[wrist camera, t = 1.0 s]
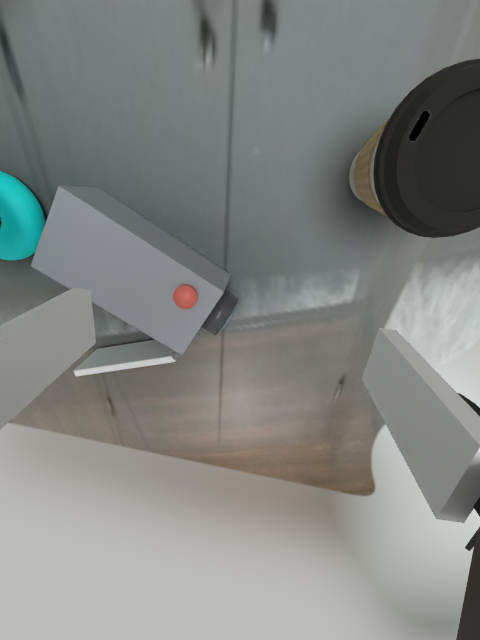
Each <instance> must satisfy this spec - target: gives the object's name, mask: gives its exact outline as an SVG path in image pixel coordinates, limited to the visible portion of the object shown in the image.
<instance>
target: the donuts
mask: <svg viewBox="0 0 480 640" xmlns="http://www.w3.org/2000/svg"><path fill="white" fill-rule="evenodd" d="M0 218H1V228H0V259H4V260H20V259H24V258H27V257H29V256H31V255H32V254H34V253H35V252H36V249H37V247H38V244H39V241H40V238H41V235H42V232H43V229H44V226H45V217H44V213H43V211H42V208H41V206H40V204H39V202H38V200H37V199H36V197H35V196H34V195H33V193H32V192H31V191H30V190H29V189H28V188H27V187H26V186H25V185H24V184H23V183H22V182H20V181H19V180H18V179H16V178H15V177H13V176H11V175H9V174H7V173H4V172H2V171H0Z"/></svg>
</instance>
